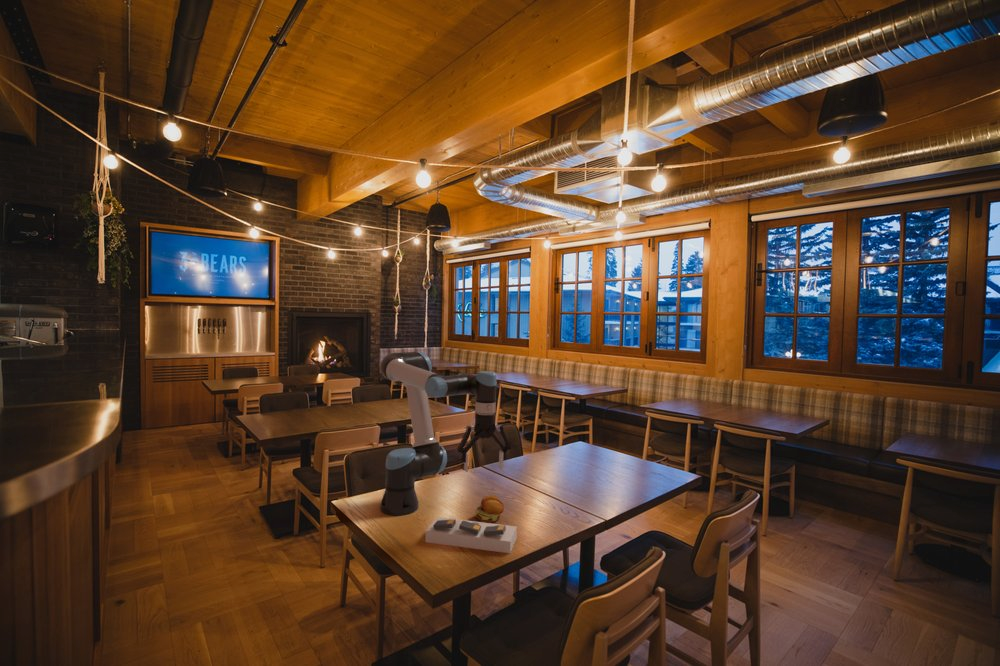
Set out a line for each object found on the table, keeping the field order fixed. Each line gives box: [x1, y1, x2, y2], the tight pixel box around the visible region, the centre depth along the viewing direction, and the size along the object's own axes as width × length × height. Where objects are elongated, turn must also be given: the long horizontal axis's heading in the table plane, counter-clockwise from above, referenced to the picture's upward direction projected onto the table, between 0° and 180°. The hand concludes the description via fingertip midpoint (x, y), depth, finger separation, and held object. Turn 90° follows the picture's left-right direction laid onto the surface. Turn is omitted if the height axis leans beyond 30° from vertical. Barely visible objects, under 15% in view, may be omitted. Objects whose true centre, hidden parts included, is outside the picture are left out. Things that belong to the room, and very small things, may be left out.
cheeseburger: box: [475, 494, 505, 523], centre depth 184 cm, size 10×11×10 cm
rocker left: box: [433, 520, 456, 529], centre depth 165 cm, size 7×4×2 cm, turn 78°
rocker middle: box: [459, 520, 481, 535], centre depth 163 cm, size 7×4×2 cm, turn 78°
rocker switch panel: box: [425, 516, 518, 554], centre depth 166 cm, size 30×12×4 cm, turn 78°
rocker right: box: [484, 526, 506, 536], centre depth 161 cm, size 7×4×2 cm, turn 78°
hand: (483, 469), depth 176 cm, fingers open, 13 cm apart
